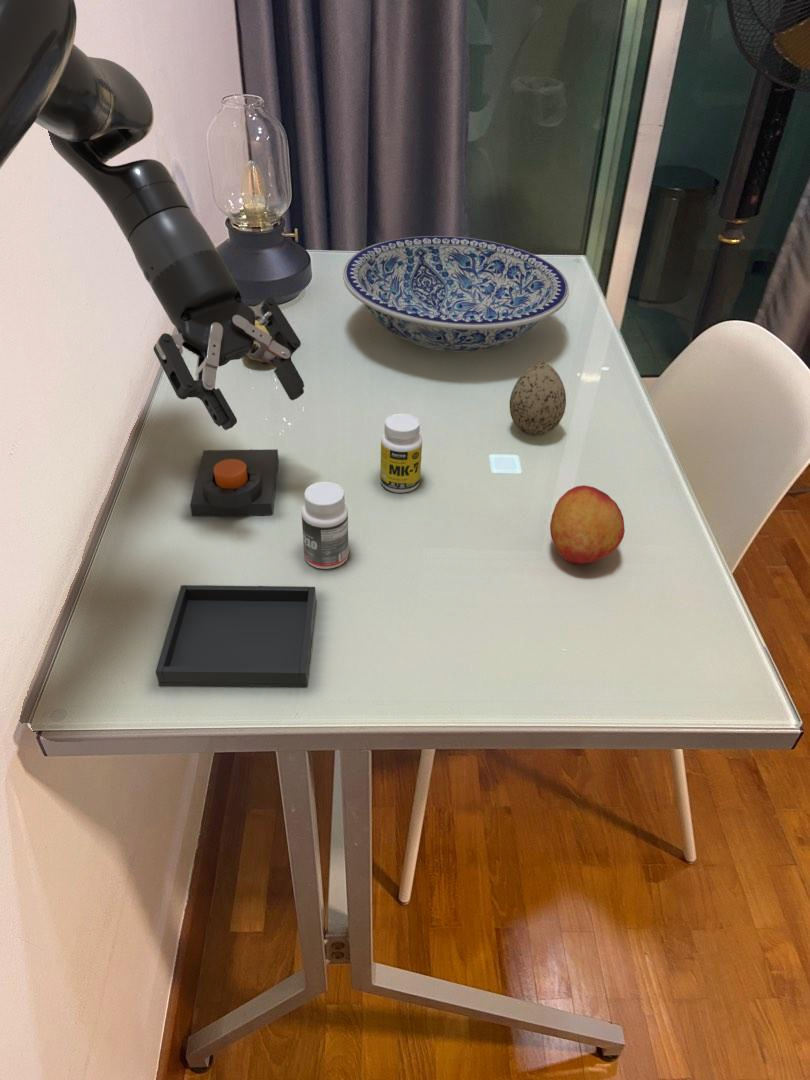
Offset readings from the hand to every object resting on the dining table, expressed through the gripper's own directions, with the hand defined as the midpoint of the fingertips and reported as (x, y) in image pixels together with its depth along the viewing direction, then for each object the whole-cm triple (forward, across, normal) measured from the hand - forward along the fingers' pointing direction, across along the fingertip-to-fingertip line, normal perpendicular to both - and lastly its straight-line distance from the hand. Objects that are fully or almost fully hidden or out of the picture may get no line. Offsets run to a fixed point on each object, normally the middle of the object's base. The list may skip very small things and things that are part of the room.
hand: (266, 411), depth 82 cm
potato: (-13, +24, +33) cm, 43 cm away
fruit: (+30, +20, -9) cm, 37 cm away
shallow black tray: (+18, -14, +1) cm, 23 cm away
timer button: (+4, -1, +12) cm, 13 cm away
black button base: (+4, +1, +16) cm, 16 cm away
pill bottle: (+16, 0, +4) cm, 17 cm away
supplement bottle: (+13, +15, +7) cm, 21 cm away
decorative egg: (+16, +36, +4) cm, 40 cm away
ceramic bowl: (-3, +50, +23) cm, 55 cm away
